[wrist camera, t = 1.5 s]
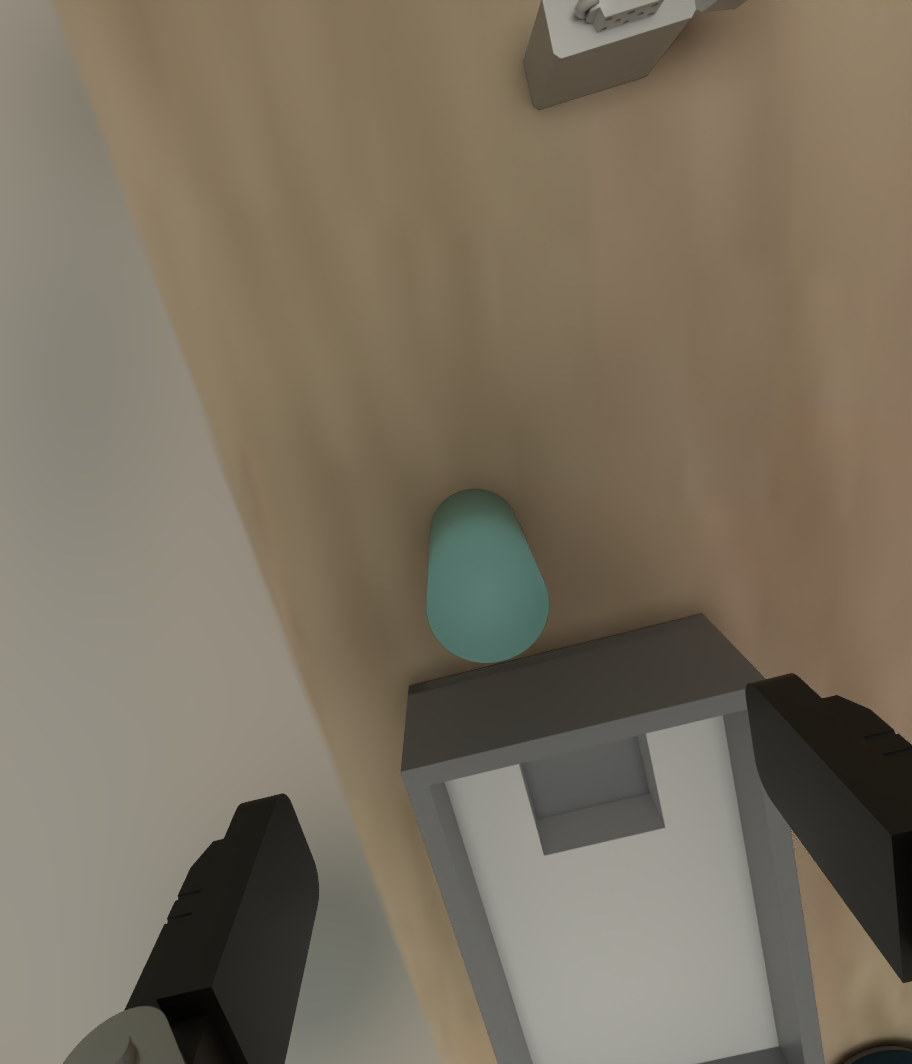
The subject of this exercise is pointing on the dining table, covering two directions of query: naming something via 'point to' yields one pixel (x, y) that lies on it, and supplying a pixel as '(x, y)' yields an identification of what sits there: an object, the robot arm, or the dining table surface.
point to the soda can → (883, 1056)
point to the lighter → (602, 43)
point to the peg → (483, 580)
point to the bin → (615, 854)
